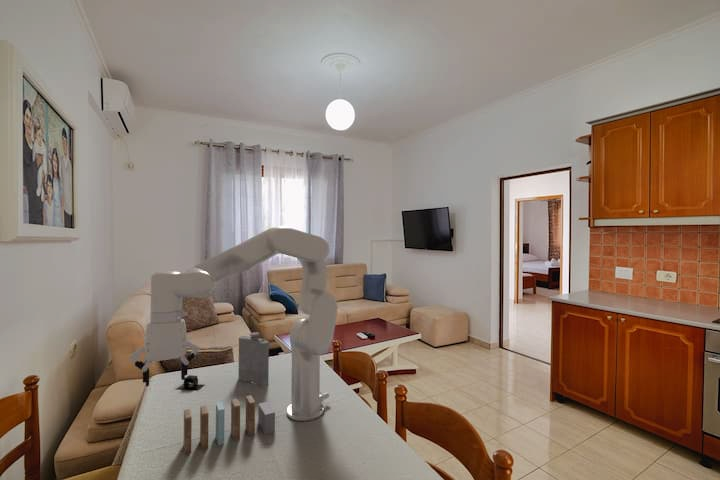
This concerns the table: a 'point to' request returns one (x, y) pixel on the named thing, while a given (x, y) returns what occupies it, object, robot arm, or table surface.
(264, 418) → the end block
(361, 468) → the table surface
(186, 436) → the domino
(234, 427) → the domino
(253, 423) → the domino
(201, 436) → the domino
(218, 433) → the domino
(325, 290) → the robot arm
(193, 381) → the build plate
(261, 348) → the hip flask
